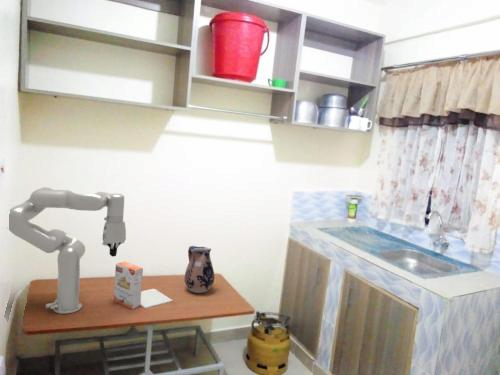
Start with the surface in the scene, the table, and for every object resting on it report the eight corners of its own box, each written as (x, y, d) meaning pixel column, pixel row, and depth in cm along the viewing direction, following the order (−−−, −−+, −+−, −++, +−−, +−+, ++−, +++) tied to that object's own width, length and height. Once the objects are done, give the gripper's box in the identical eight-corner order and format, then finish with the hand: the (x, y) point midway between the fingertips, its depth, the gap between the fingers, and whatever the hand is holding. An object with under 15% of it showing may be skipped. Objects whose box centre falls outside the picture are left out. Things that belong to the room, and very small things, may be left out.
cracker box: (112, 302, 191) (115, 263, 189) (122, 298, 196) (124, 260, 194) (131, 310, 184) (134, 270, 182) (140, 306, 190) (143, 267, 187)
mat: (145, 308, 187) (145, 307, 187) (127, 295, 201) (127, 294, 200) (172, 301, 199) (172, 300, 199) (154, 289, 212) (154, 288, 212)
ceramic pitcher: (198, 299, 206) (202, 255, 203) (173, 287, 218) (176, 246, 215) (219, 291, 220) (223, 250, 217) (194, 280, 232) (197, 242, 229)
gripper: (103, 222, 171) (101, 260, 173) (133, 219, 181) (130, 255, 183) (96, 218, 176) (94, 255, 178) (125, 216, 187) (123, 251, 189)
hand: (113, 255), depth 181 cm, fingers closed
